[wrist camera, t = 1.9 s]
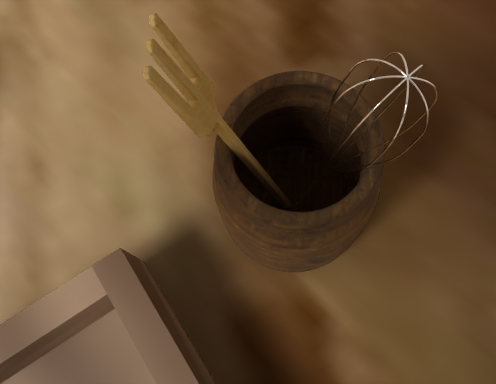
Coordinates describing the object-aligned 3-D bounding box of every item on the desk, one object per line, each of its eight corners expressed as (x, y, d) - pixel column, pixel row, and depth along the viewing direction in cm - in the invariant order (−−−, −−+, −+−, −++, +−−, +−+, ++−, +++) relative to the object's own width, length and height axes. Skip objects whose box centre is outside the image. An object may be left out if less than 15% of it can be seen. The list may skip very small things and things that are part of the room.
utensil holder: (364, 277, 20) (488, 188, 8) (213, 273, 20) (129, 183, 9) (359, 144, 21) (455, -80, 10) (220, 143, 22) (158, -75, 10)
